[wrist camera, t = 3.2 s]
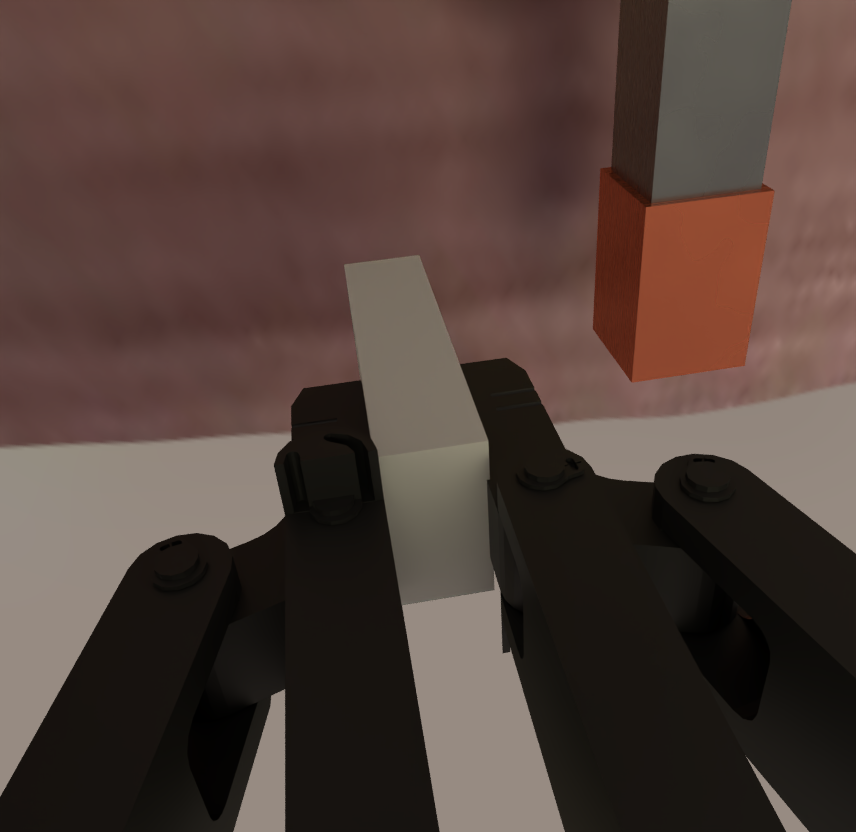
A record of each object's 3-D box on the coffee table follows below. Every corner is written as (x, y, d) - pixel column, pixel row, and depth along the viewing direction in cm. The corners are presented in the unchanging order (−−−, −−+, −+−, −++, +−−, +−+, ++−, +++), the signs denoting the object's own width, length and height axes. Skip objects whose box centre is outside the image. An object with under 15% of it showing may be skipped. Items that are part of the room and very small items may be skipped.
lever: (605, -330, 14) (679, -380, 12) (794, -342, 15) (907, -394, 12) (580, 330, 22) (622, 391, 19) (705, 312, 22) (764, 369, 19)
